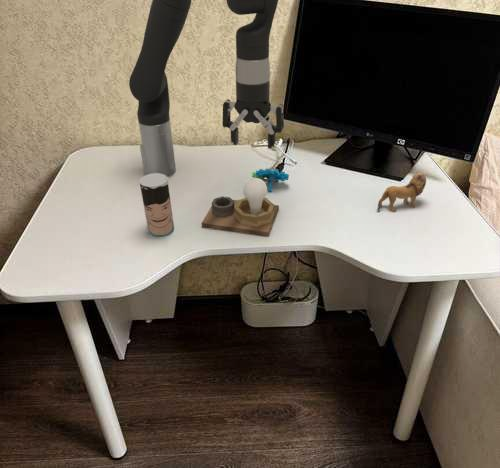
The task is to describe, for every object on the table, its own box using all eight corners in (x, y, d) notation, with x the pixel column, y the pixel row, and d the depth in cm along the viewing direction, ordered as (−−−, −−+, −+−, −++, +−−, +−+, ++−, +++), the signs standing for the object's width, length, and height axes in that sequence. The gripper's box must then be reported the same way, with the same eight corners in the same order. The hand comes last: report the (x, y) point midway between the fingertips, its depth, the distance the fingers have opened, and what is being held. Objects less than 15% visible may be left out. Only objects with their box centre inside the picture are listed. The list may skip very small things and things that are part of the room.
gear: (293, 177, 139) (284, 166, 130) (290, 196, 138) (281, 187, 129) (259, 176, 143) (247, 165, 134) (256, 194, 142) (244, 185, 133)
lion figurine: (413, 196, 133) (419, 168, 127) (426, 205, 129) (433, 176, 123) (371, 207, 128) (375, 179, 123) (383, 217, 124) (388, 188, 119)
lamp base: (201, 227, 121) (200, 213, 119) (217, 202, 131) (216, 188, 129) (268, 236, 117) (268, 222, 115) (278, 210, 128) (279, 196, 125)
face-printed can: (143, 235, 119) (134, 184, 110) (155, 221, 124) (147, 171, 115) (167, 239, 117) (159, 188, 108) (178, 225, 122) (172, 175, 114)
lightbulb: (270, 211, 124) (270, 175, 118) (263, 223, 120) (262, 186, 113) (248, 208, 126) (247, 172, 120) (241, 219, 121) (239, 183, 115)
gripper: (216, 80, 100) (220, 149, 109) (280, 85, 97) (278, 155, 106) (226, 70, 106) (229, 136, 115) (287, 74, 103) (285, 142, 112)
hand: (253, 145), depth 111 cm, fingers open, 8 cm apart
